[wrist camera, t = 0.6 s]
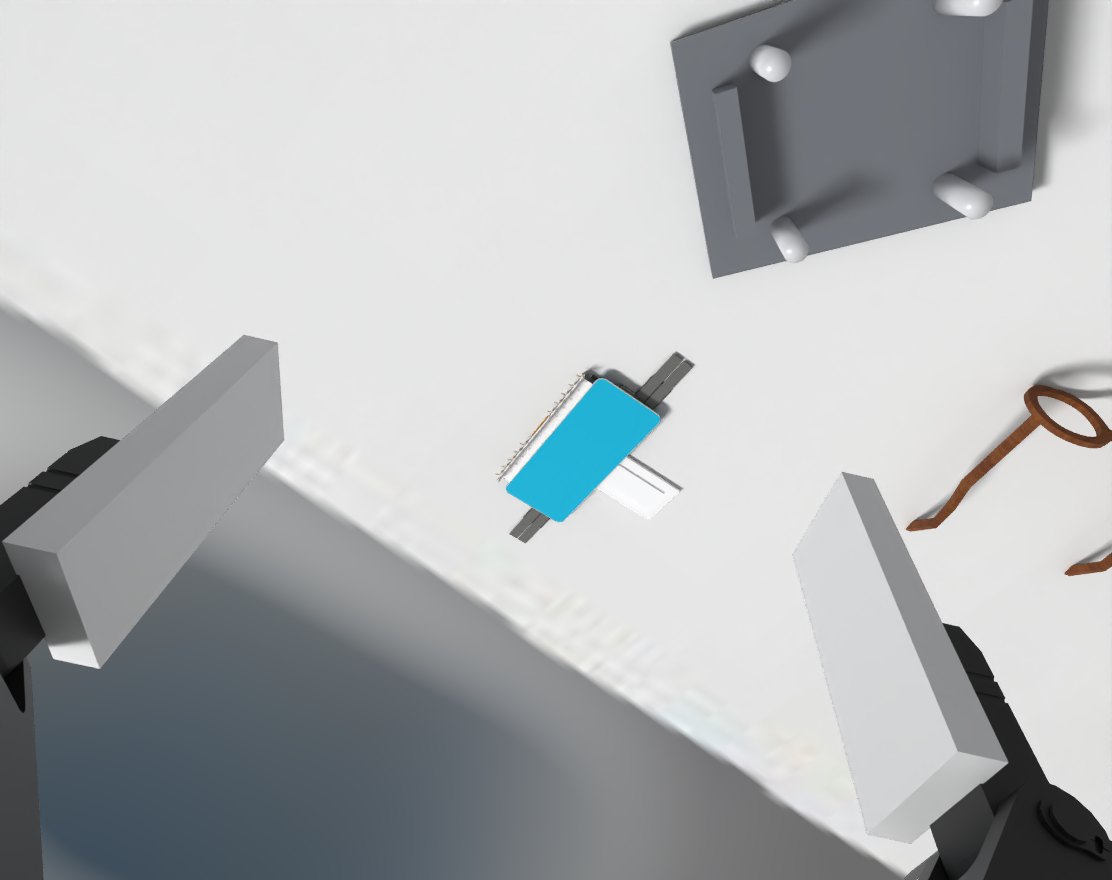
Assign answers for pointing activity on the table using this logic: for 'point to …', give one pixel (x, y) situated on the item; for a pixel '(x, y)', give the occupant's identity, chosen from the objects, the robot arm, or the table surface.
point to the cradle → (857, 121)
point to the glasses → (1014, 439)
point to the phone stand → (592, 451)
